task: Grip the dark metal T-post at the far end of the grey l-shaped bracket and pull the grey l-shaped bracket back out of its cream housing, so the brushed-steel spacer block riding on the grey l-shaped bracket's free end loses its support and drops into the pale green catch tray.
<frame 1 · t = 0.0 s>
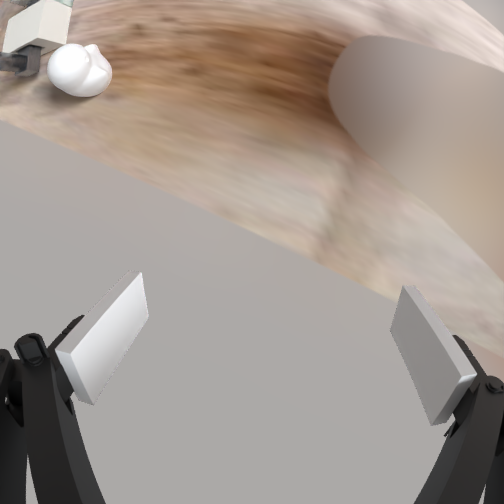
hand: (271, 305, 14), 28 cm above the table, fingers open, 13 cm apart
figurine: (99, 76, 35), on the table
grey l-shaped bracket: (14, 16, 21), point 10 cm above the table, slide at 0.0 cm, touching spacer
housing: (48, 34, 31), on the table
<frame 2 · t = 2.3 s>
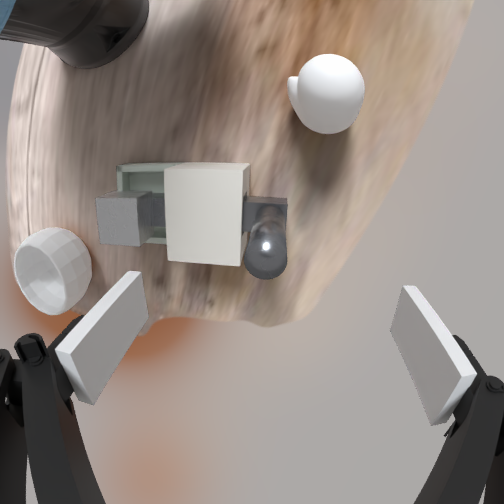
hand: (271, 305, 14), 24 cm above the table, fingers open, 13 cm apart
figurine: (320, 104, 31), on the table
grey l-shaped bracket: (178, 224, 28), point 10 cm above the table, slide at 0.0 cm, touching spacer
tray: (155, 200, 37), on the table
white faceted bowl: (74, 254, 42), on the table
housing: (216, 202, 37), on the table
spacer: (133, 212, 32), point 6 cm above the table, touching grey l-shaped bracket
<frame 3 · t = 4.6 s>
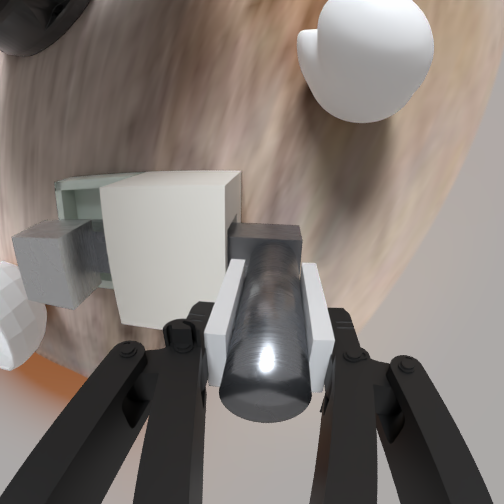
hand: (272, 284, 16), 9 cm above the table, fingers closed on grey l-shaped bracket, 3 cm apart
figurine: (345, 79, 20), on the table
grey l-shaped bracket: (120, 281, 16), point 10 cm above the table, slide at 0.0 cm, touching gripper, spacer
tray: (110, 226, 26), on the table
white faceted bowl: (29, 291, 30), on the table
housing: (194, 229, 25), on the table
spacer: (71, 250, 20), point 6 cm above the table, touching grey l-shaped bracket
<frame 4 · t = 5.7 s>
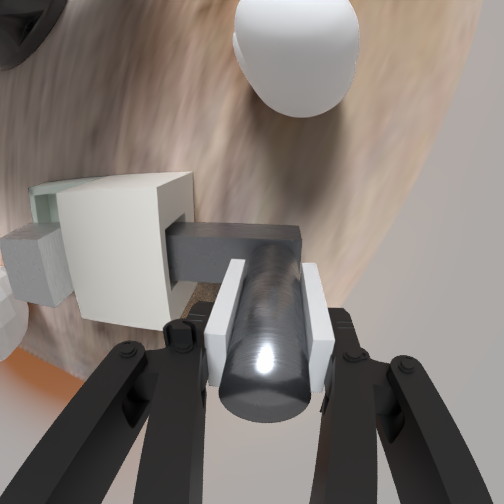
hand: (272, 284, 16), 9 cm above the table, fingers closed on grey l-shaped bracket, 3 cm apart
figurine: (294, 75, 20), on the table
grey l-shaped bracket: (121, 282, 16), point 10 cm above the table, slide at 3.9 cm, touching gripper
tray: (79, 228, 26), on the table
white faceted bowl: (14, 290, 31), on the table
housing: (152, 229, 25), on the table
spacer: (55, 252, 20), point 6 cm above the table
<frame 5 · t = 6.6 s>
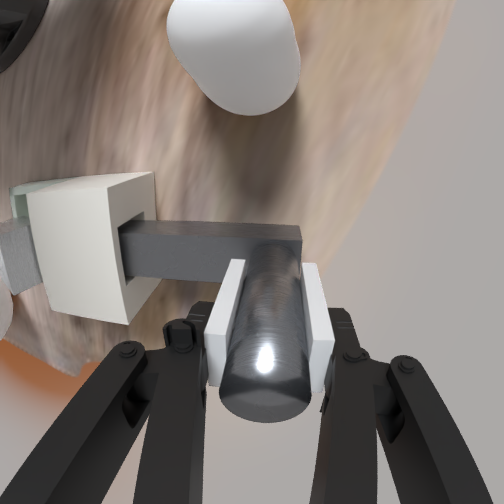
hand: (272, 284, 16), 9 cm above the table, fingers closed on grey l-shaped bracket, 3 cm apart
figurine: (251, 73, 20), on the table
grey l-shaped bracket: (121, 281, 16), point 10 cm above the table, slide at 7.4 cm, touching gripper, spacer
tray: (55, 226, 26), on the table
white faceted bowl: (0, 285, 31), on the table
housing: (118, 227, 26), on the table
spacer: (35, 245, 21), point 5 cm above the table, tilted 25°, touching grey l-shaped bracket
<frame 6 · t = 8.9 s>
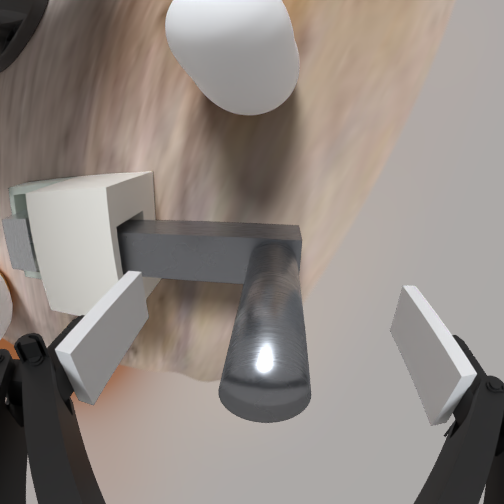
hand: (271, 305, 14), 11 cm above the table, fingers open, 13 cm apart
figurine: (250, 73, 20), on the table
grey l-shaped bracket: (120, 281, 16), point 10 cm above the table, slide at 7.5 cm
tray: (55, 225, 26), on the table
white faceted bowl: (0, 284, 31), on the table
housing: (118, 226, 26), on the table
spacer: (47, 236, 23), point 3 cm above the table, tilted 90°, touching tray
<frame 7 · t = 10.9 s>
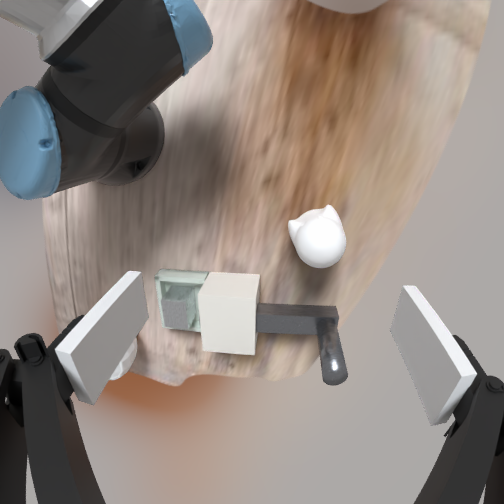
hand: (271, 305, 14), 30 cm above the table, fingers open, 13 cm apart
figurine: (315, 226, 43), on the table
grey l-shaped bracket: (266, 339, 39), point 10 cm above the table, slide at 7.5 cm
tray: (186, 297, 50), on the table
white faceted bowl: (119, 328, 54), on the table
housing: (235, 300, 49), on the table
spacer: (191, 308, 46), point 3 cm above the table, tilted 90°, touching tray
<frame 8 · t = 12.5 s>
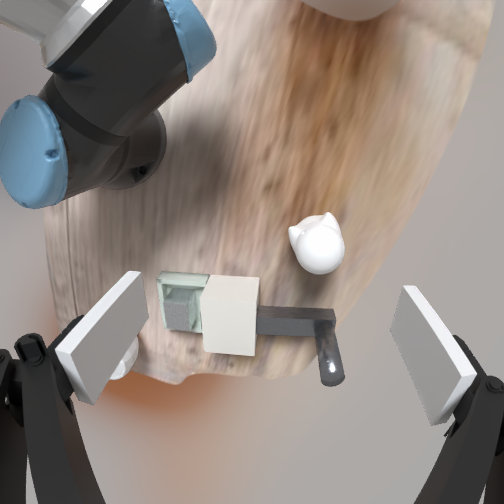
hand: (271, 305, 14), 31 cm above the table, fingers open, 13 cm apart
figurine: (314, 232, 45), on the table
grey l-shaped bracket: (266, 341, 40), point 10 cm above the table, slide at 7.5 cm
tray: (187, 298, 51), on the table
white faceted bowl: (120, 328, 55), on the table
housing: (235, 302, 50), on the table
spacer: (192, 309, 47), point 3 cm above the table, tilted 90°, touching tray
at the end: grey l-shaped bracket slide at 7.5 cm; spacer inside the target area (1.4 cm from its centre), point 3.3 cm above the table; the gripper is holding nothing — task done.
